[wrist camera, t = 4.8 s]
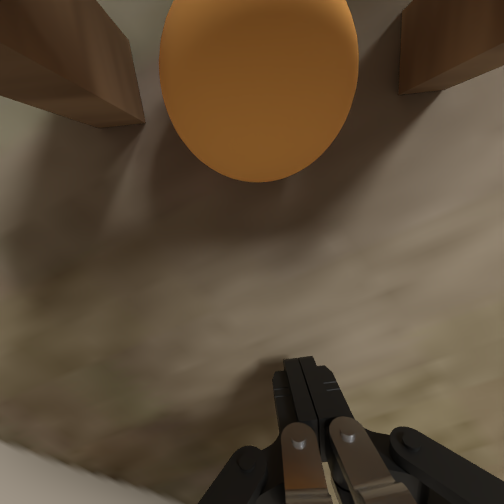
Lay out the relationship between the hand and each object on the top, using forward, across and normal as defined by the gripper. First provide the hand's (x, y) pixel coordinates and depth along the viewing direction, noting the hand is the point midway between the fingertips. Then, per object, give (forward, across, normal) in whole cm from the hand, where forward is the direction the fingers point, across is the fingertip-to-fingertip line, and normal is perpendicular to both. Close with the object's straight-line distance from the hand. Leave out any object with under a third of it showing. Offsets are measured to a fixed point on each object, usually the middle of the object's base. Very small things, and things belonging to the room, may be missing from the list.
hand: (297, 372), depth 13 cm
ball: (-2, +1, -13) cm, 13 cm away
